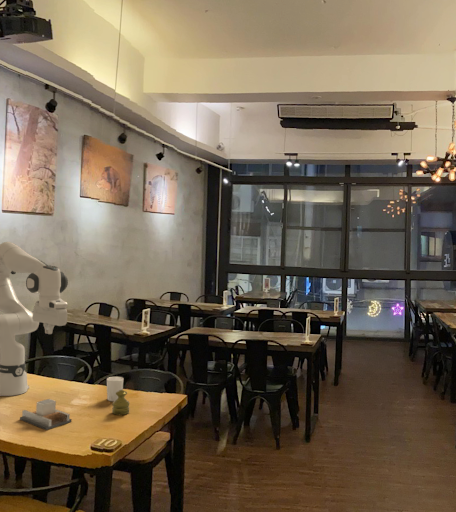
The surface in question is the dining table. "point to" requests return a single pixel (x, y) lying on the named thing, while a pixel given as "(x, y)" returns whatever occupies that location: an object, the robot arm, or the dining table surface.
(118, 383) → the white cup
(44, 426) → the rail plate
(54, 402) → the block
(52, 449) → the dining table surface
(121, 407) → the olive green tiered piece
